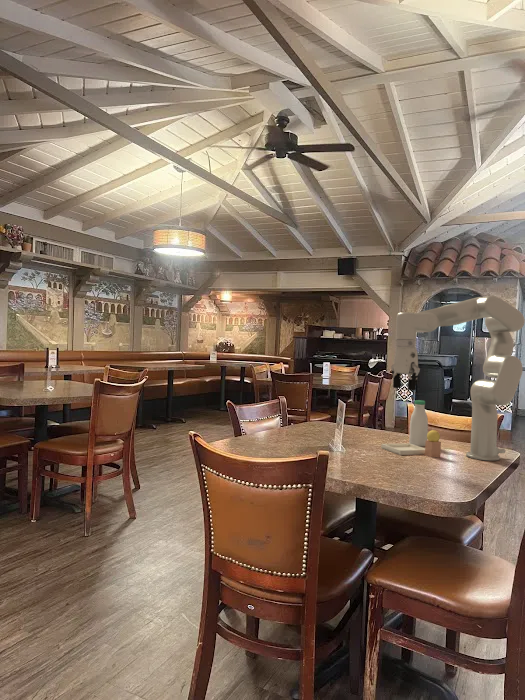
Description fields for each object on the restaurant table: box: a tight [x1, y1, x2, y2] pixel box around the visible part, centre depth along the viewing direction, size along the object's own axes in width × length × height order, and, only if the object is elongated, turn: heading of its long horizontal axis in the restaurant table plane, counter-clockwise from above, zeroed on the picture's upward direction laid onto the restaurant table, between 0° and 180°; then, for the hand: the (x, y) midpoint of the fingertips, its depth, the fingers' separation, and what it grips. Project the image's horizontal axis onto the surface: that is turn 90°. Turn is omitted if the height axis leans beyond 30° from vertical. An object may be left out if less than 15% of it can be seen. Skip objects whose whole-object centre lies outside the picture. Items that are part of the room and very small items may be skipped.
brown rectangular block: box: [424, 439, 442, 458], centre depth 206 cm, size 4×4×6 cm
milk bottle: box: [408, 399, 429, 447], centre depth 230 cm, size 8×8×20 cm
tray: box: [380, 442, 425, 456], centre depth 214 cm, size 14×14×2 cm
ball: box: [427, 429, 441, 442], centre depth 206 cm, size 5×5×5 cm
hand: (404, 389), depth 197 cm, fingers open, 9 cm apart
